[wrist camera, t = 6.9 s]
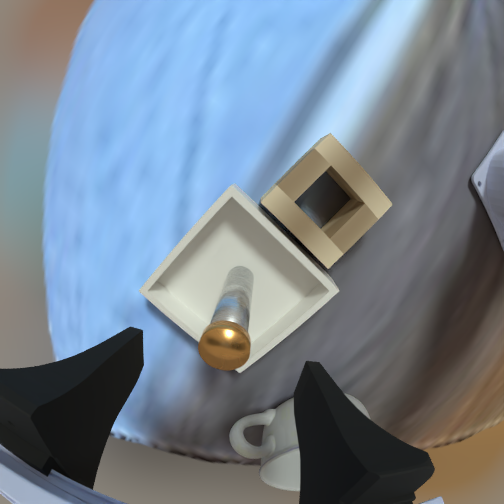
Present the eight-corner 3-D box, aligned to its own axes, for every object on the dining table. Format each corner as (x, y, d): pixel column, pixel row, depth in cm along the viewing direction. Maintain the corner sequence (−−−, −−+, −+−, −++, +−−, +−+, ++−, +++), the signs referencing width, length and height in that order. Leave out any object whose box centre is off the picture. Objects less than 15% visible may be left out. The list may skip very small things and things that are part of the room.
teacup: (381, 398, 25) (404, 453, 17) (310, 448, 27) (317, 501, 20) (286, 339, 23) (294, 409, 15) (213, 404, 25) (201, 467, 18)
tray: (331, 277, 21) (339, 290, 19) (241, 354, 23) (240, 373, 21) (234, 183, 19) (231, 184, 17) (150, 278, 22) (138, 291, 19)
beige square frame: (375, 199, 19) (392, 204, 16) (319, 255, 20) (328, 269, 18) (320, 138, 18) (330, 133, 15) (260, 197, 19) (260, 202, 17)
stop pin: (263, 275, 21) (260, 346, 12) (245, 299, 21) (232, 377, 13) (235, 257, 20) (214, 320, 12) (218, 282, 21) (189, 354, 13)
